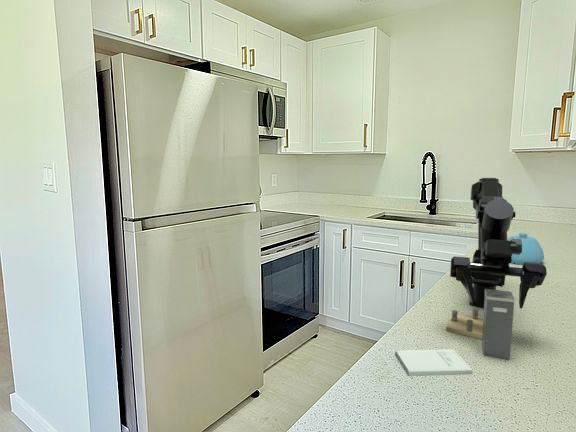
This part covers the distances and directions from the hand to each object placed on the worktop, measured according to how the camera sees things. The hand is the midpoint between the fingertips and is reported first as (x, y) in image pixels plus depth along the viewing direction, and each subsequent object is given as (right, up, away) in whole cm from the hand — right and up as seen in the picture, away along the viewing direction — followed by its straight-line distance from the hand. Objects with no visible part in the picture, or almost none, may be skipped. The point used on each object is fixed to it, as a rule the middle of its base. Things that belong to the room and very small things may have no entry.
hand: (496, 304), depth 80 cm
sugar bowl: (+50, +1, +70) cm, 86 cm away
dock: (0, -8, +11) cm, 14 cm away
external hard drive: (-16, -12, -5) cm, 20 cm away
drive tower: (-1, -10, -1) cm, 10 cm away
